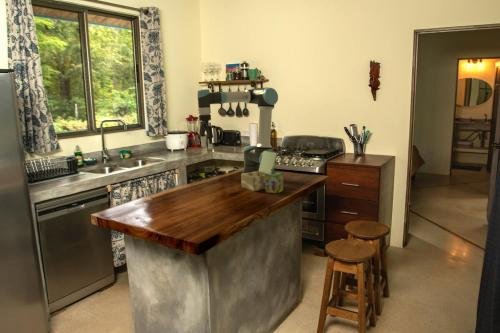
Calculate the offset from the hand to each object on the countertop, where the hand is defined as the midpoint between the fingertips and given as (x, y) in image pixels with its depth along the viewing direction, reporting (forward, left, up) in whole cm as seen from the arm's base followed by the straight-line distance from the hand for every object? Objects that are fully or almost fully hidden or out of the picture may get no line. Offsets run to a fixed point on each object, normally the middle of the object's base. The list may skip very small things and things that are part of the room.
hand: (206, 147), depth 251 cm
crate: (-27, +15, -28) cm, 41 cm away
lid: (-36, +15, -12) cm, 41 cm away
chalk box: (-30, +31, -28) cm, 51 cm away
